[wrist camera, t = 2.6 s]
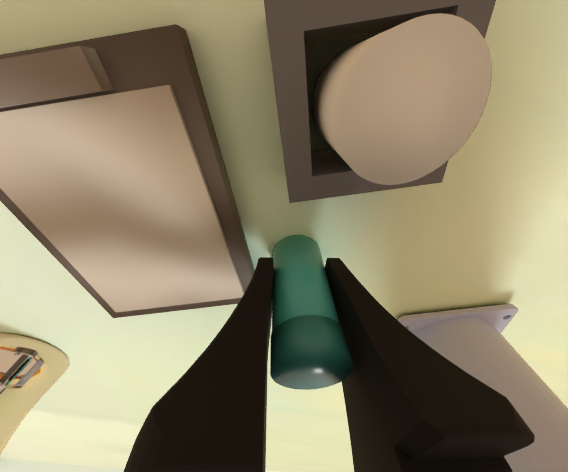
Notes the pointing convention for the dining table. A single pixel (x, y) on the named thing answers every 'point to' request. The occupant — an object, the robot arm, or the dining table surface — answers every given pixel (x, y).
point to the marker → (305, 320)
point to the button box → (293, 83)
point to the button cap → (405, 97)
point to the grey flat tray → (122, 171)
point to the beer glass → (25, 378)
